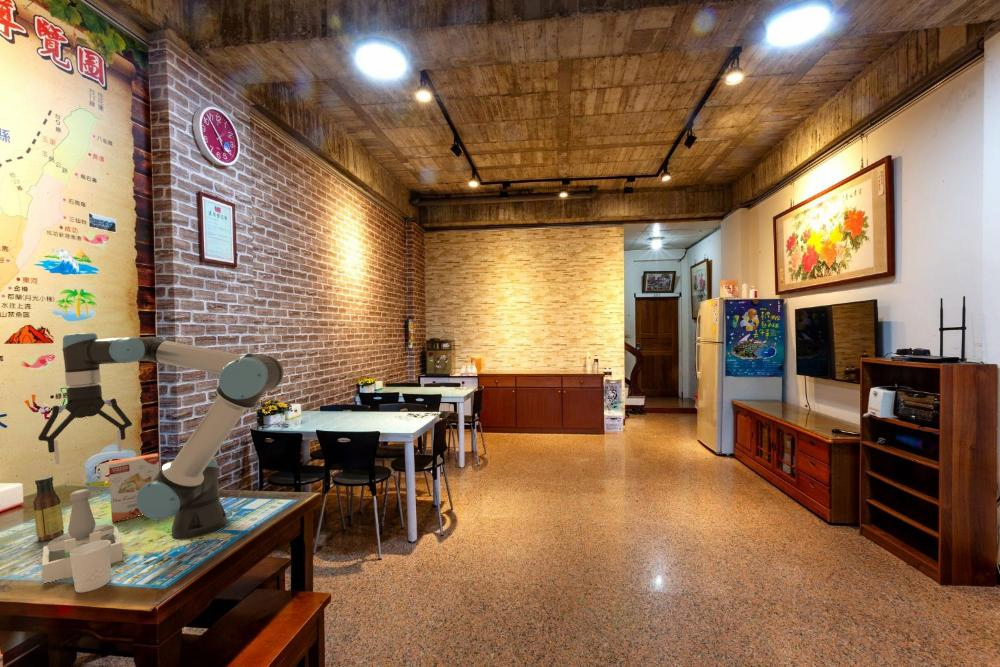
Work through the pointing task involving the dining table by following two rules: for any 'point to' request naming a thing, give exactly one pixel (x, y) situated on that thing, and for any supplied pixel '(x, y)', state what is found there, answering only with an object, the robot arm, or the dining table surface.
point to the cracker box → (130, 483)
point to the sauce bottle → (47, 510)
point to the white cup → (91, 565)
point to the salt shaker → (81, 515)
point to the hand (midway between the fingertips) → (89, 456)
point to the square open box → (59, 562)
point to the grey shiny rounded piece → (58, 542)
